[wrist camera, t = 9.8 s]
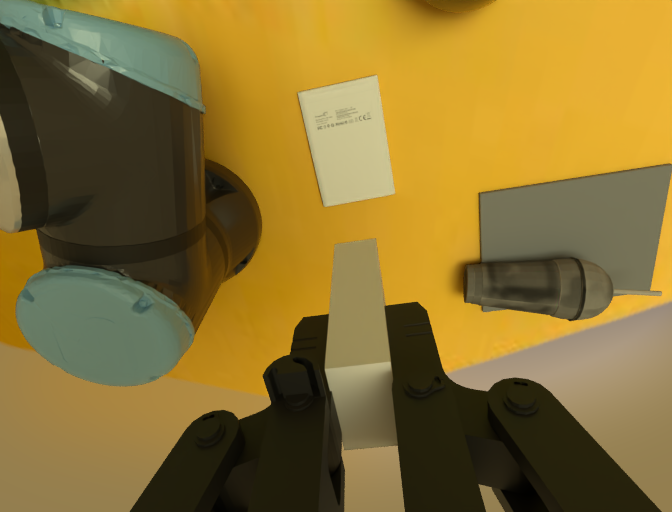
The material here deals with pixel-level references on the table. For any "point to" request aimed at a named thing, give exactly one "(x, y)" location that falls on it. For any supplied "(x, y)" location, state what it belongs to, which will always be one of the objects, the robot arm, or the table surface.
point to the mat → (580, 223)
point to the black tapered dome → (459, 5)
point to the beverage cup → (544, 287)
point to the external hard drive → (348, 140)
